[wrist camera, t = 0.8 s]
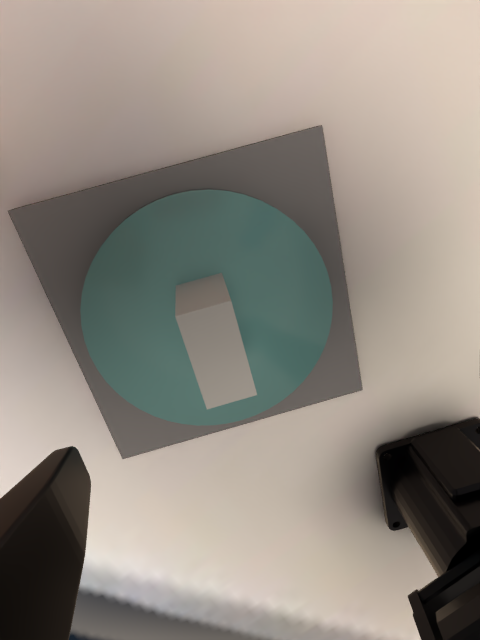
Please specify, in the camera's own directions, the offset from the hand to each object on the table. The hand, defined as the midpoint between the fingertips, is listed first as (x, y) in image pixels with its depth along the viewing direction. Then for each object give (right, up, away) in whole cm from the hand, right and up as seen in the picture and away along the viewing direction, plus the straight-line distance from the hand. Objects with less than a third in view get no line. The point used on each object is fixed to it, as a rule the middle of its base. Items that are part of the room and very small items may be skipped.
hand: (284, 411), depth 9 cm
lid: (-2, +2, +10) cm, 11 cm away
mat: (-2, +2, +11) cm, 11 cm away
